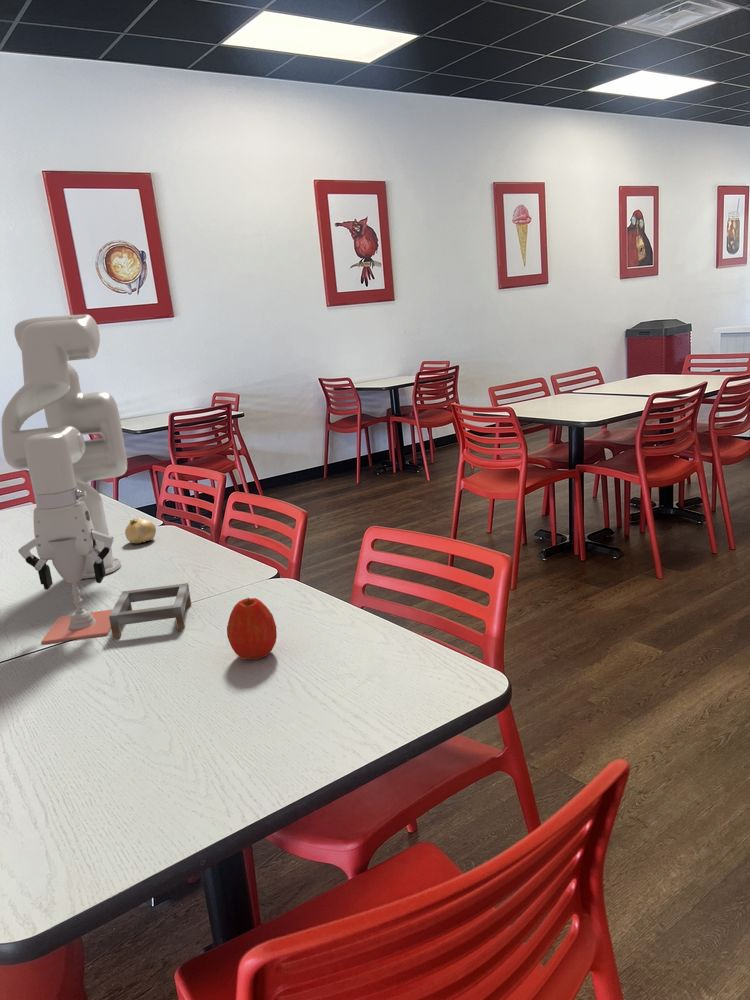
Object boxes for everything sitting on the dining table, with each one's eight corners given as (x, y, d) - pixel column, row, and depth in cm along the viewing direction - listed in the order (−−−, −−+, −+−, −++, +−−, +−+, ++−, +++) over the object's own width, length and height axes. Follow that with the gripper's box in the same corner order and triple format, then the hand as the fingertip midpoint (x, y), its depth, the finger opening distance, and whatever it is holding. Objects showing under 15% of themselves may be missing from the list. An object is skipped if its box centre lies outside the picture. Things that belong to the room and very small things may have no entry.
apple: (238, 672, 115) (229, 611, 113) (224, 653, 122) (216, 595, 120) (286, 658, 119) (278, 598, 116) (270, 640, 126) (262, 584, 123)
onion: (135, 538, 199) (131, 513, 197) (162, 537, 198) (158, 512, 196) (122, 547, 191) (117, 521, 190) (149, 546, 190) (145, 520, 188)
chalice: (109, 617, 141) (92, 531, 137) (85, 632, 135) (66, 542, 131) (79, 615, 144) (62, 530, 139) (54, 629, 138) (36, 541, 133)
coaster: (59, 618, 144) (59, 616, 144) (120, 610, 146) (120, 608, 146) (41, 643, 133) (41, 641, 133) (107, 634, 134) (107, 632, 134)
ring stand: (126, 612, 145) (122, 591, 144) (191, 603, 146) (188, 582, 145) (113, 639, 132) (108, 616, 131) (184, 629, 134) (180, 606, 133)
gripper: (109, 489, 138) (124, 571, 142) (15, 499, 136) (34, 582, 140) (100, 498, 131) (116, 585, 135) (1, 509, 129) (21, 597, 133)
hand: (74, 583), depth 138 cm, fingers open, 9 cm apart
